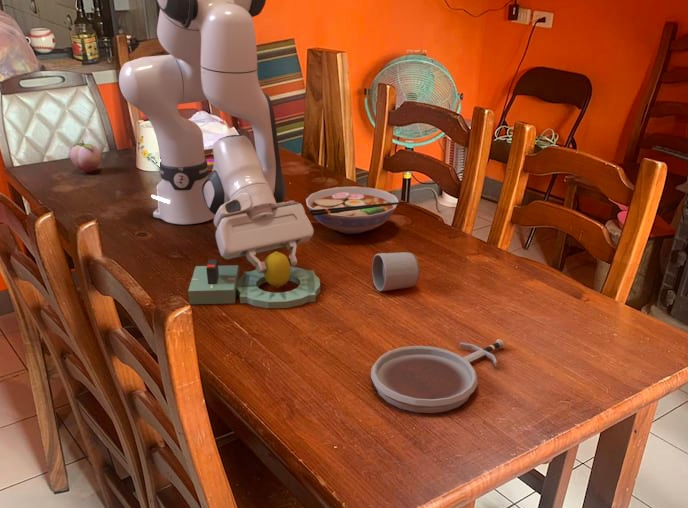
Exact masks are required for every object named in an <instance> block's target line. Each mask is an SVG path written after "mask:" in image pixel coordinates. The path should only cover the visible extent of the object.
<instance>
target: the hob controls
mask: <svg viewBox="0 0 688 508" xmlns="http://www.w3.org/2000/svg"><path fill="white" fill-rule="evenodd" d="M206 268H207V265H196V266H195V267H194V270H193V274H192V277H191V281H190V283H189V287H188V290H187V293H188V294H187V295H188V303H189V305H225V304H227V305H228V304H229V305H231V304H236V300H237V296H238V295H237V291H236V286H237V280H238V279H239V278H240V269H239V265H237V264H236V265H231V264H230V265H218V269H219V277H218V281H217V284H208V279H207V270H206Z"/></svg>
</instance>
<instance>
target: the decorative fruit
mask: <svg viewBox="0 0 688 508" xmlns="http://www.w3.org/2000/svg"><path fill="white" fill-rule="evenodd" d="M69 158H70V161H71V162H72V163H73V165H74V166H75V167H76V168H78V169H79V170H80V171H83V172H84V173H87V174H91V172H93V171H96V170H97V168H98V167H99V166H100V164H101V159H102V154H101V151H100V149H99V148H98V147H97V146H95V145H94V144H92V143H84V139H83V140H81V142H77V143H74V144H73V145H72V148H71V150H70V152H69Z"/></svg>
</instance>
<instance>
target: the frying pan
mask: <svg viewBox="0 0 688 508" xmlns="http://www.w3.org/2000/svg"><path fill="white" fill-rule="evenodd" d="M504 346H505V342H504V341H503V339H500V338H498V339H496V340H495V342H494V343H492V344H489V345H488V346H486V347H484V348H482V347H479V346H477V345H476V344H472V343H467V342H461V341H459V348H465V349H470V350H474V352H472V353H469V354H466V355H465V356H461V355H460V354H457V353H456V352H453V351H451V350H448V349H444V348H440V347H435V346H431V345H430V346H428V345H427V346H426V345H410V346H401V347H398V348H394V349H392V350H389V351H387V352H386V353H383V354H382V355H380V356H379V357H378V359H377V360H376V361H375V362H374V364H373V365H372V367H371V370H370V371H371V372H370V378H371V380H372V383H373V385H374V387H375V389H376V391H377V393H378V395H379V396H380V397H381V398H382V399H383V400H384V401H386V403H388V404H390V405H392V406H394V407H397V408H398V409H400V410H406V411H409V412H413V413H421V414H423V413H424V414H436V413H443V412H444V413H445V412H448V411H451V410H454V409H457V408H459V407H460V406H463V404H464V403H466V402H467V401H468V400H469V398H470V397H471V395H472V394H473V393H474V392H475V390H476V388H477V386H478V383H479V382H478V374H477V372H476V370H475V368H474V367H473V365H472V364H471V362H473V361H475V360H477V359H479V358H482V357H487V358H488V359H491V360H492V362H493V365H494V366H495V367H497V366H498V360H497V358H496V356H495V354H493V353H492V351H495V350H497V349H503V348H504Z"/></svg>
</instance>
